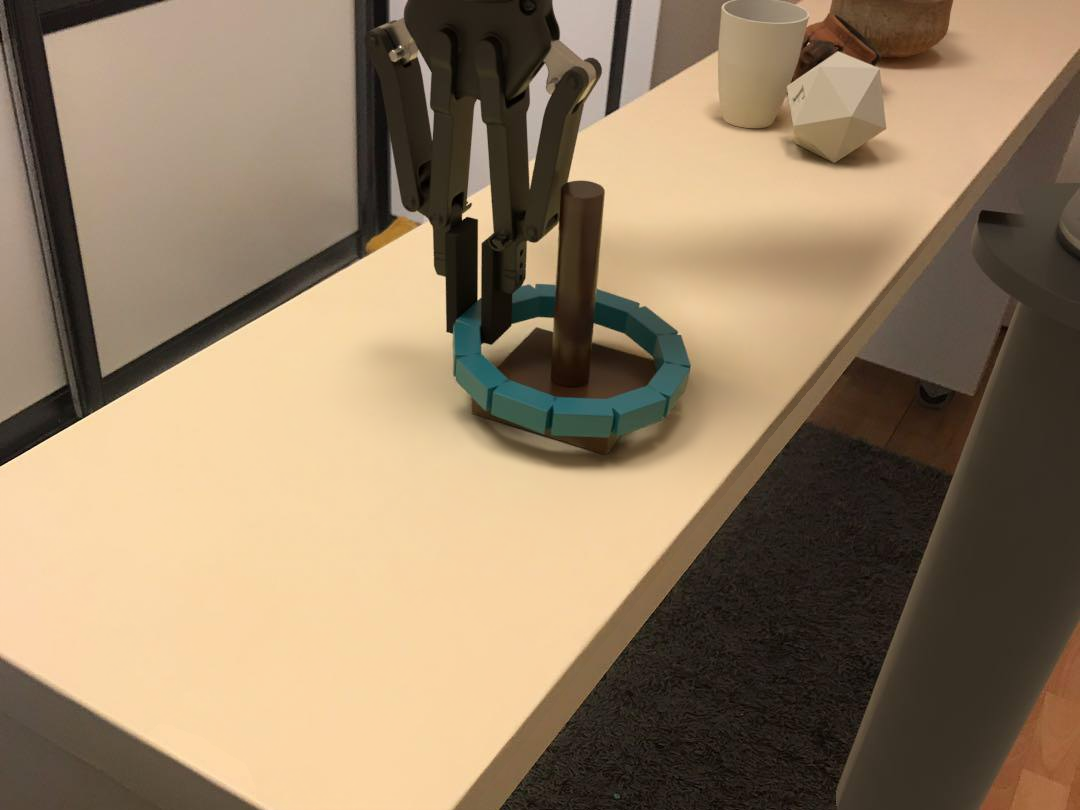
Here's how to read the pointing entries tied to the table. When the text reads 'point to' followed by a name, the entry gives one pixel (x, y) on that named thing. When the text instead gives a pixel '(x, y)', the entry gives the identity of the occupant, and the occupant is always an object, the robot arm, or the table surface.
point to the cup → (757, 58)
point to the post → (575, 324)
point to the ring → (574, 412)
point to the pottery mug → (833, 44)
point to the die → (837, 106)
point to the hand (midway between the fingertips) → (479, 328)
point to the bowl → (897, 23)
